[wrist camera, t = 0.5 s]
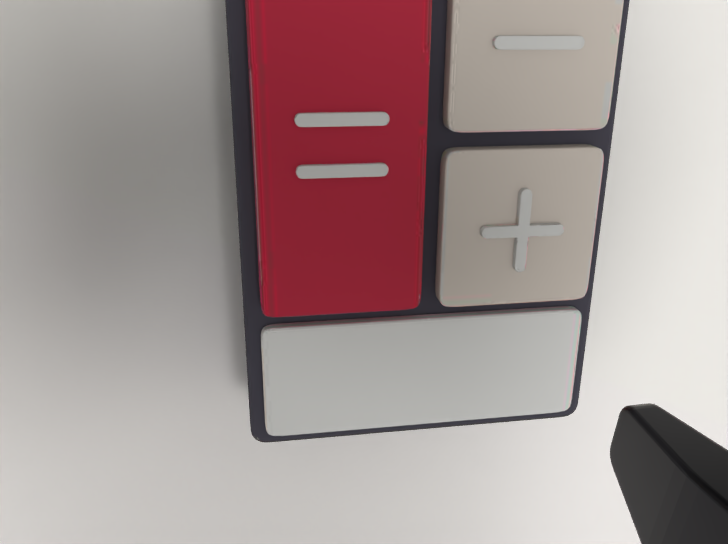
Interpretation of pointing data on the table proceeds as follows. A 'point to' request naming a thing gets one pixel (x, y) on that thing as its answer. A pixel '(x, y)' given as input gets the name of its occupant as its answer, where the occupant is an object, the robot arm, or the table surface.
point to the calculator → (418, 206)
